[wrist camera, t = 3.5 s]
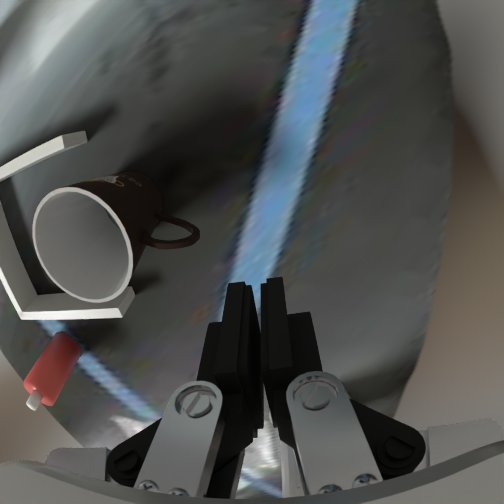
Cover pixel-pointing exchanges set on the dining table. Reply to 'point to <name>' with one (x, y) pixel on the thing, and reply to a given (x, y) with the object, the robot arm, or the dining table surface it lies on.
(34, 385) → the squeeze bottle
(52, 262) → the coffee mug
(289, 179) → the dining table surface
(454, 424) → the robot arm
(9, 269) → the open u-shaped frame
